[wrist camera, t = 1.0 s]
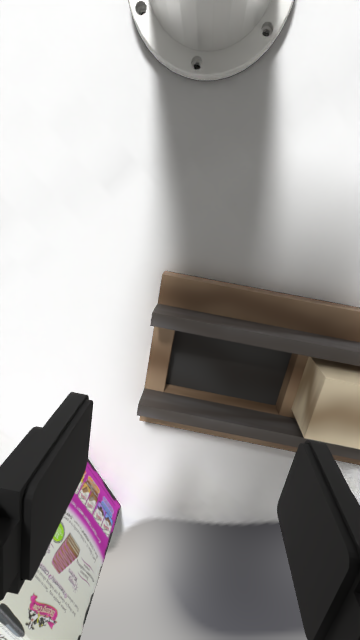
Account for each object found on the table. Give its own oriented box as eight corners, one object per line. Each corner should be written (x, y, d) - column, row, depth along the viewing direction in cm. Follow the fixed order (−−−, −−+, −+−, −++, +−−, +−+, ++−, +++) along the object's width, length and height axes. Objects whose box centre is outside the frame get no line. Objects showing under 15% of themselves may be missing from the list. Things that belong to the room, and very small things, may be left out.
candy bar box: (43, 452, 39) (-67, 609, 23) (76, 439, 38) (-16, 594, 22) (90, 517, 41) (19, 696, 26) (122, 506, 40) (69, 686, 25)
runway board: (165, 270, 31) (157, 280, 26) (561, 345, 30) (629, 370, 25) (143, 409, 36) (133, 439, 31) (481, 477, 35) (524, 518, 30)
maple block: (309, 355, 30) (325, 378, 26) (372, 367, 30) (399, 392, 25) (291, 408, 32) (304, 438, 27) (350, 420, 32) (372, 451, 27)
